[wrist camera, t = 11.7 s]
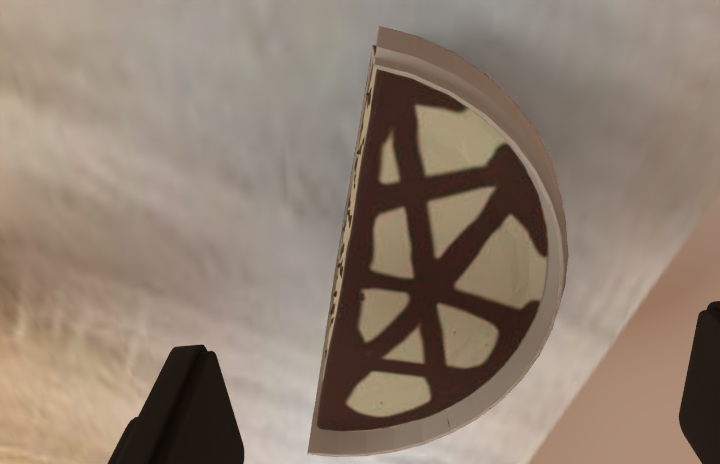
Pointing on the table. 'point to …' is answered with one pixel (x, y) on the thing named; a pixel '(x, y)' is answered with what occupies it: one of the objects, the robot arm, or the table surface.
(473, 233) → the food container
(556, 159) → the table surface
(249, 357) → the table surface
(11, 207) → the table surface
